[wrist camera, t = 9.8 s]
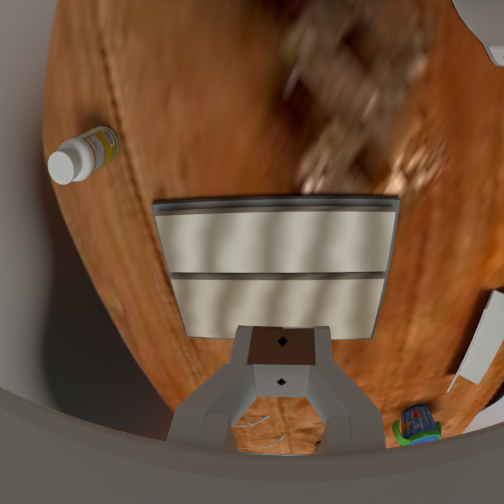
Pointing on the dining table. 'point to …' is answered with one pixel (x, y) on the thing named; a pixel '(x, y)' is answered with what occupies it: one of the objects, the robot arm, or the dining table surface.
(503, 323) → the z bracket
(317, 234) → the floor panel
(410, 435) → the snack cup
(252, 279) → the loose plank
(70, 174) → the supplement bottle
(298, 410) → the dining table surface
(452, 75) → the dining table surface
